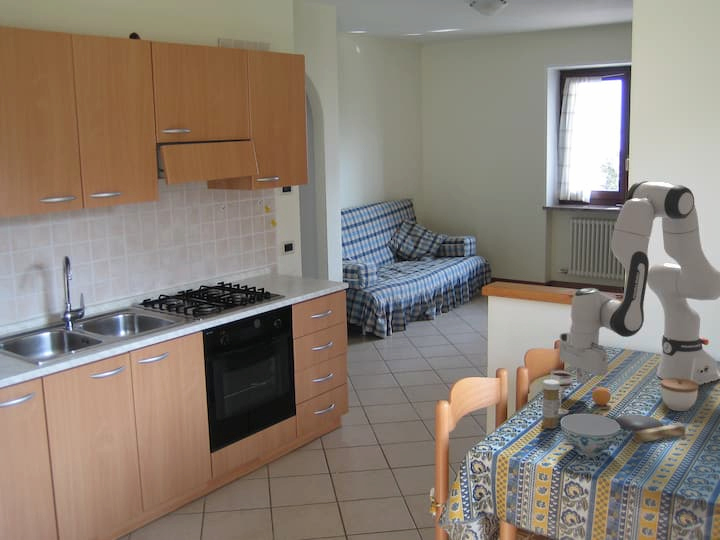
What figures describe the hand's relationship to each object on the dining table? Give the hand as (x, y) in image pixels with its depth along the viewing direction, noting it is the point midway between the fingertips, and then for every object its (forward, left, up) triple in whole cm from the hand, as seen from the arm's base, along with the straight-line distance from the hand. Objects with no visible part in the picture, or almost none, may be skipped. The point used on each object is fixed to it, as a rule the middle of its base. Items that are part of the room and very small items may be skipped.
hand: (581, 381), depth 247 cm
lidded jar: (-21, +20, -5) cm, 29 cm away
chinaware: (+25, +37, -5) cm, 45 cm away
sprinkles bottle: (+24, +18, -5) cm, 31 cm away
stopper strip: (+1, +36, -5) cm, 37 cm away
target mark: (-1, +26, -5) cm, 26 cm away
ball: (-1, +9, -2) cm, 9 cm away
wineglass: (+14, +9, -5) cm, 18 cm away
